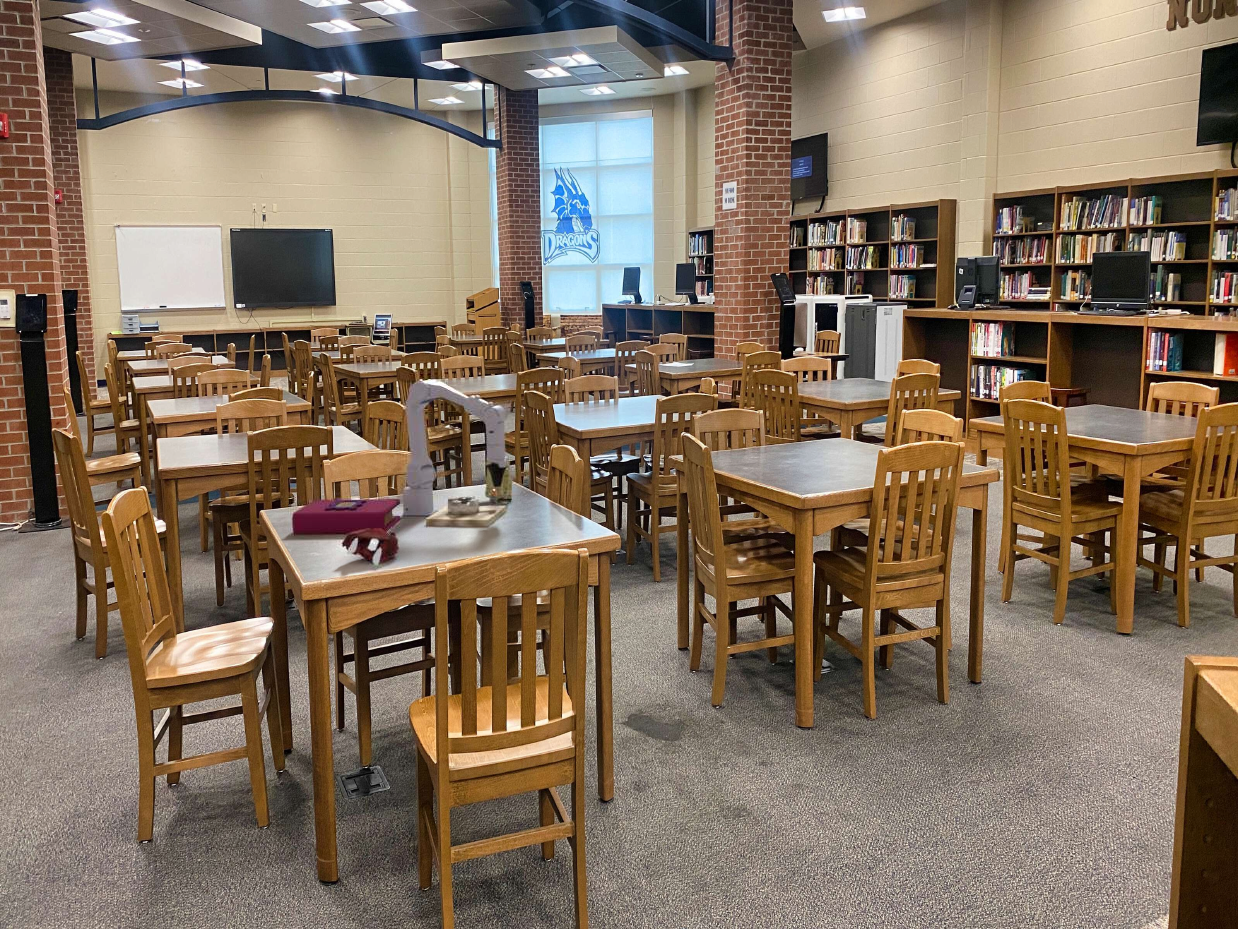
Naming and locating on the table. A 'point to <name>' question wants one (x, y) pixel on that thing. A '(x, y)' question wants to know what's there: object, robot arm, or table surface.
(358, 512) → the book
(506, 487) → the mechanical component
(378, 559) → the dark red lumpy piece
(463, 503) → the grey boxy piece
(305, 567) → the table surface
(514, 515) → the table surface
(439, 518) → the base plate
